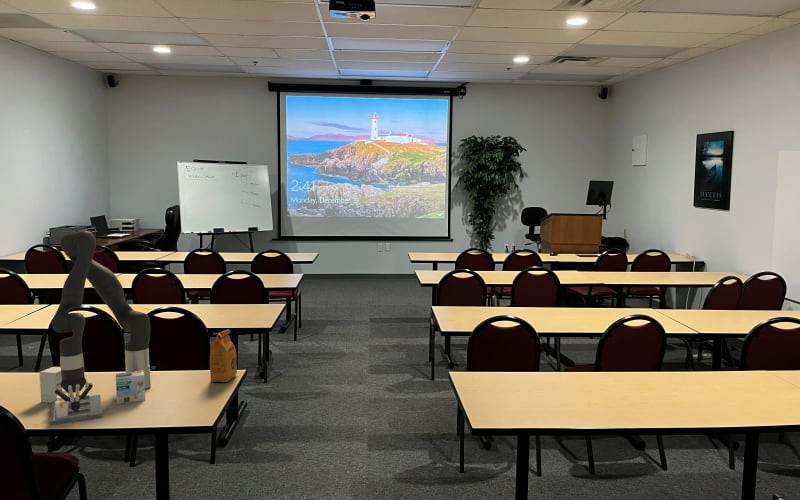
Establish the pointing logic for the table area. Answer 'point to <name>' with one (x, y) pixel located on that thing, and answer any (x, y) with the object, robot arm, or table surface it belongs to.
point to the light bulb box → (130, 387)
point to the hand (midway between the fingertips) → (75, 410)
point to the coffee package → (222, 358)
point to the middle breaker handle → (62, 399)
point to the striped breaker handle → (61, 409)
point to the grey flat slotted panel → (79, 411)
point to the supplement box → (50, 384)
